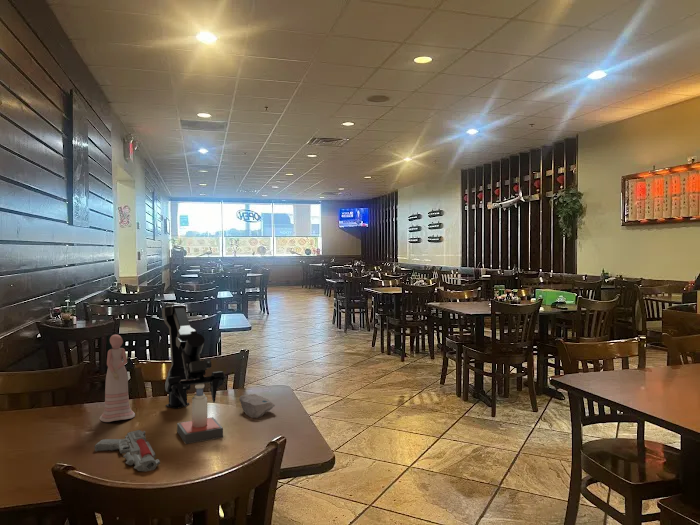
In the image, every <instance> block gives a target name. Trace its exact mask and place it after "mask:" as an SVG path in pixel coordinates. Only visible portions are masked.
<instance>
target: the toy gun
mask: <svg viewBox="0 0 700 525" xmlns="http://www.w3.org/2000/svg"><path fill="white" fill-rule="evenodd" d="M146 436H147V435H146V431H145V430H143V431H142V430H141V429H138V430H133V431H130V432H127V434H126V435H125V436H124V438H106V439H105V438H104V439H101V440H100V441H98V442H97V443H95V445H94V452H101V451H102V452H103V451H118V450H119V454H123V456H122V457H123V458H125V459H126V461H125V464H126V465H128V466H133V465H134V467H133V469H134V470H137V471H138V472H150V471H155V470H156V468H157V466H159V465H160V464H161V461H160V459H159V458H157V459H156V453H155V451H154V449H153V448H152V445H151V444H150V441H147V438H146Z"/></svg>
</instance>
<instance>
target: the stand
mask: <svg viewBox="0 0 700 525" xmlns="http://www.w3.org/2000/svg"><path fill="white" fill-rule="evenodd" d="M176 431H177V434H178V435H179V437H180V439H181V440H182V441H183V443H184V444H185V445H187V444H192V443H200V442H205V441H210V440H215V439H220V438H224V428H223V427H222V425H221V424H220V423H219V422H218V421H217V420H216V419H215V418H214V417H207V425H206V426H204V427H198V428H197V427H193V426H192V420H189V421H188V420H187V421H181V422H177V423H176Z"/></svg>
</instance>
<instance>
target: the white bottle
mask: <svg viewBox="0 0 700 525" xmlns="http://www.w3.org/2000/svg"><path fill="white" fill-rule="evenodd" d="M194 388H195V389H196V390H195V392H196V393H195V394H194V395H193V396H194V397H193V396H192V398H191V421H192V426H193V427H197V428H198V427H204V426H206V425H207V418H208V397H207V396H206V394H205V393H204V389H205V383H198V384H194Z"/></svg>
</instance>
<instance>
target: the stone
mask: <svg viewBox="0 0 700 525" xmlns="http://www.w3.org/2000/svg"><path fill="white" fill-rule="evenodd" d="M238 401H239V402H240V404H241V409H242V412H244V413H245V415H246V416H248V417H249V418H251V419H253V418H254V419H255V418H256V419H257V418H261V417H262V416H263V415H264V414H266V413H267V412H268V411H271V410H272V409H273V408H274V407H275V406H276V405H275V404H274V403H273V402H272V401H271V400H270V399H269V398H266V397H264V396H260V395H258V394H256V393H250V394H245V395H244V394H243V395H240V396H239V399H238Z"/></svg>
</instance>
